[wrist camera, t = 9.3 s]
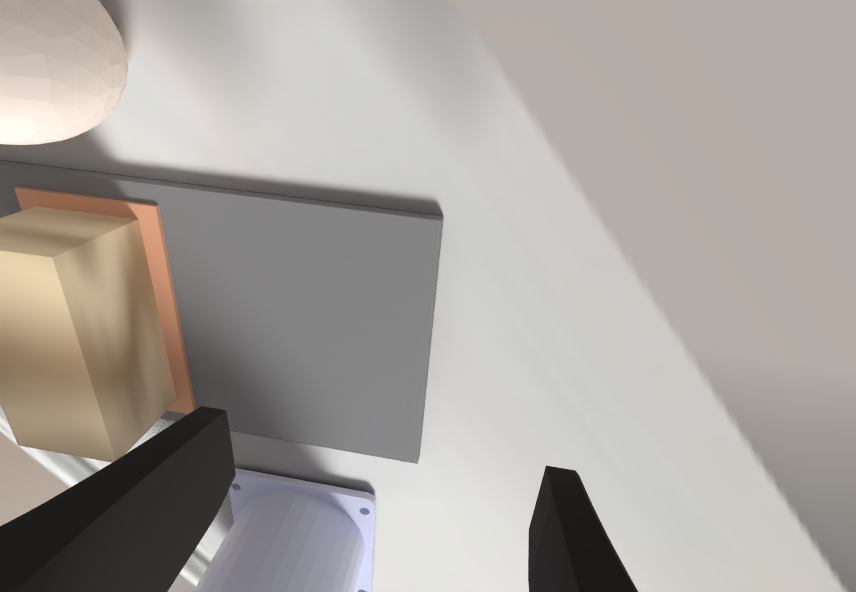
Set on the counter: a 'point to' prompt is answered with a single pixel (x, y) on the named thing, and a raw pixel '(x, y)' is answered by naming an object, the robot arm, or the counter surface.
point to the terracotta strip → (157, 267)
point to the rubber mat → (289, 306)
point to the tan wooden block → (79, 333)
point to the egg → (57, 69)
